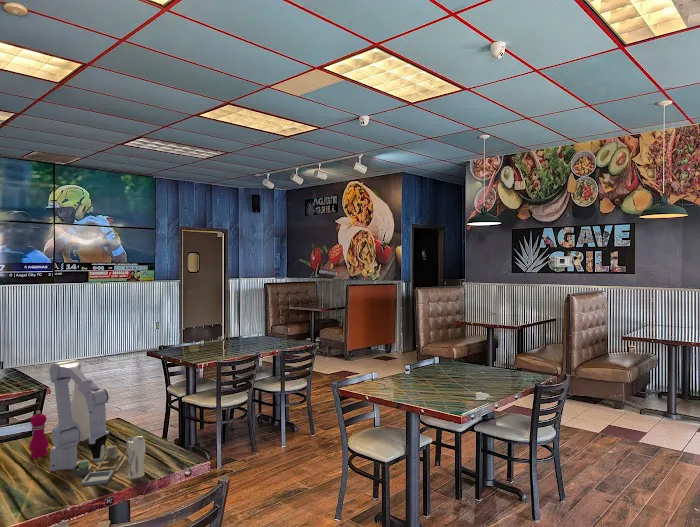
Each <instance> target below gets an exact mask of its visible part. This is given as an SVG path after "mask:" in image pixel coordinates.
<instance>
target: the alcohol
mask: <svg viewBox="0 0 700 527" xmlns="http://www.w3.org/2000/svg"><path fill="white" fill-rule="evenodd" d="M73 386H74V387H73V397H72V398H70V403H71V412H72V420H73V421H75V422H77V423H79V427H80V430H81V433H82V436H81V439H80V441H82V442H85V440H86V441H88V440H89V439H90V438H89V433H90V425H89V411H88V407H87V404H86V397H85V396H84V395H83V394H82V393H81V392H80V391H79V389H78V386H79V385H78V384H77V383H76V382H75V381H74V385H73ZM71 428H72V427H71ZM87 439H88V440H87ZM80 441H78V443H81V442H80Z"/></svg>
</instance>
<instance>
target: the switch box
mask: <svg viewBox="0 0 700 527" xmlns="http://www.w3.org/2000/svg"><path fill="white" fill-rule="evenodd" d="M93 466H94V465H93V464H88V467H89V468H88V469H81V465H80V466H79V467H78V468H77V469H76V472H75V473H76V474H75V475H76V476H75V477H86V476H87V475H88V473H89V472H94V471H93V470H94V468H93Z"/></svg>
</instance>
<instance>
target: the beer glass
mask: <svg viewBox="0 0 700 527" xmlns="http://www.w3.org/2000/svg"><path fill="white" fill-rule="evenodd" d="M125 445H126V446H125V448H126V449H125V452H126V453H125V454H126V460H127V464H128V474H127V477H128V479H131V480H134V479H135V480H136V479H139V478H142V477H144V476H145V474H146V473H145V470H144V463H145V456H146V441H145V437H144V436H141V435H138V436H137V435H135V436H132V437H128V438H127V439H126V444H125Z"/></svg>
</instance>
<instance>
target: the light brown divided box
mask: <svg viewBox="0 0 700 527" xmlns="http://www.w3.org/2000/svg"><path fill="white" fill-rule="evenodd" d="M126 460H127V456H124V454H118V445H116V444H115V445H109V446H107V447H106V455H105V456H104V461H102V462H99V463H98V465H97V467H96V468H95V470H94V471H93V472H101V471H112V470H114V473H118V471H119V470H120V468H121V467H122V466H123V464H124V463H125V461H126Z"/></svg>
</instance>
